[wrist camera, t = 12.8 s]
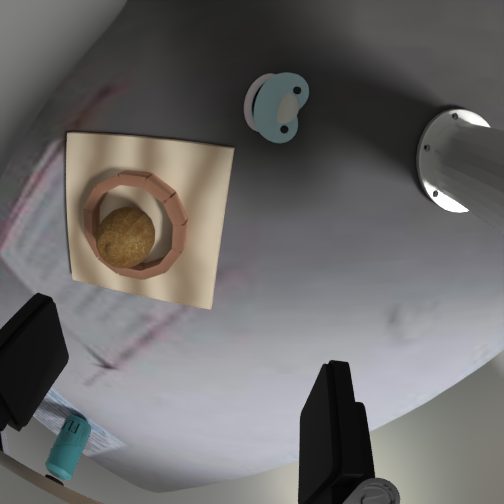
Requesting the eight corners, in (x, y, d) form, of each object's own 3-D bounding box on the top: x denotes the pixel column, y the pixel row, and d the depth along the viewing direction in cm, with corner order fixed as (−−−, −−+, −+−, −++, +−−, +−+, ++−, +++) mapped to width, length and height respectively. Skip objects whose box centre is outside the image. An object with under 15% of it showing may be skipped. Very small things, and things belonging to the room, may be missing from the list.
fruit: (106, 211, 35) (72, 237, 28) (147, 188, 34) (118, 211, 27) (132, 255, 38) (105, 289, 31) (173, 235, 36) (151, 269, 29)
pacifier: (236, 129, 32) (291, 145, 33) (227, 133, 27) (293, 153, 27) (256, 65, 29) (312, 82, 30) (251, 55, 24) (319, 76, 24)
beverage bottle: (87, 412, 57) (55, 485, 39) (98, 429, 59) (71, 498, 41) (65, 406, 57) (31, 475, 39) (76, 423, 60) (47, 489, 42)
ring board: (234, 147, 33) (231, 151, 30) (212, 304, 42) (208, 319, 39) (72, 131, 32) (57, 135, 30) (76, 275, 41) (66, 286, 38)
